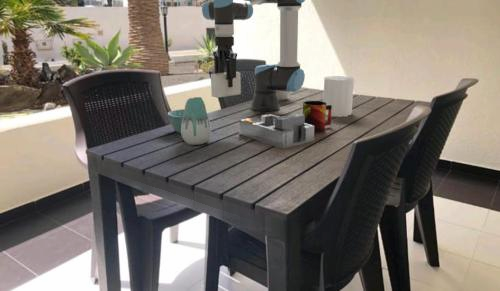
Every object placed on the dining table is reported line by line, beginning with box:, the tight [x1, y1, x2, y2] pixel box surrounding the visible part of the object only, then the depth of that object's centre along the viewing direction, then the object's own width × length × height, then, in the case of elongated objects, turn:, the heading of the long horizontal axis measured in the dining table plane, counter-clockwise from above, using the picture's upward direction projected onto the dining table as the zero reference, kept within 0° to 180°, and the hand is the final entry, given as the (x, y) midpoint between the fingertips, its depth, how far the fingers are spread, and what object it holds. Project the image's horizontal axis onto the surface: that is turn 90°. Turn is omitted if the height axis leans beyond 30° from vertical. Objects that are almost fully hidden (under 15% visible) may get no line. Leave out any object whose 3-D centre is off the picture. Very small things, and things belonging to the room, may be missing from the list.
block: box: [210, 71, 242, 99], centre depth 168 cm, size 4×12×9 cm, turn 129°
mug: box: [302, 100, 332, 134], centre depth 176 cm, size 10×14×12 cm
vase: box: [180, 96, 212, 146], centre depth 157 cm, size 12×12×18 cm
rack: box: [238, 113, 316, 150], centre depth 165 cm, size 27×17×10 cm, turn 39°
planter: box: [277, 90, 291, 102], centre depth 241 cm, size 17×17×15 cm
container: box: [322, 75, 355, 118], centre depth 204 cm, size 14×14×18 cm
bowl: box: [167, 108, 185, 134], centre depth 174 cm, size 16×16×8 cm
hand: (225, 94), depth 169 cm, fingers closed on block, 4 cm apart
